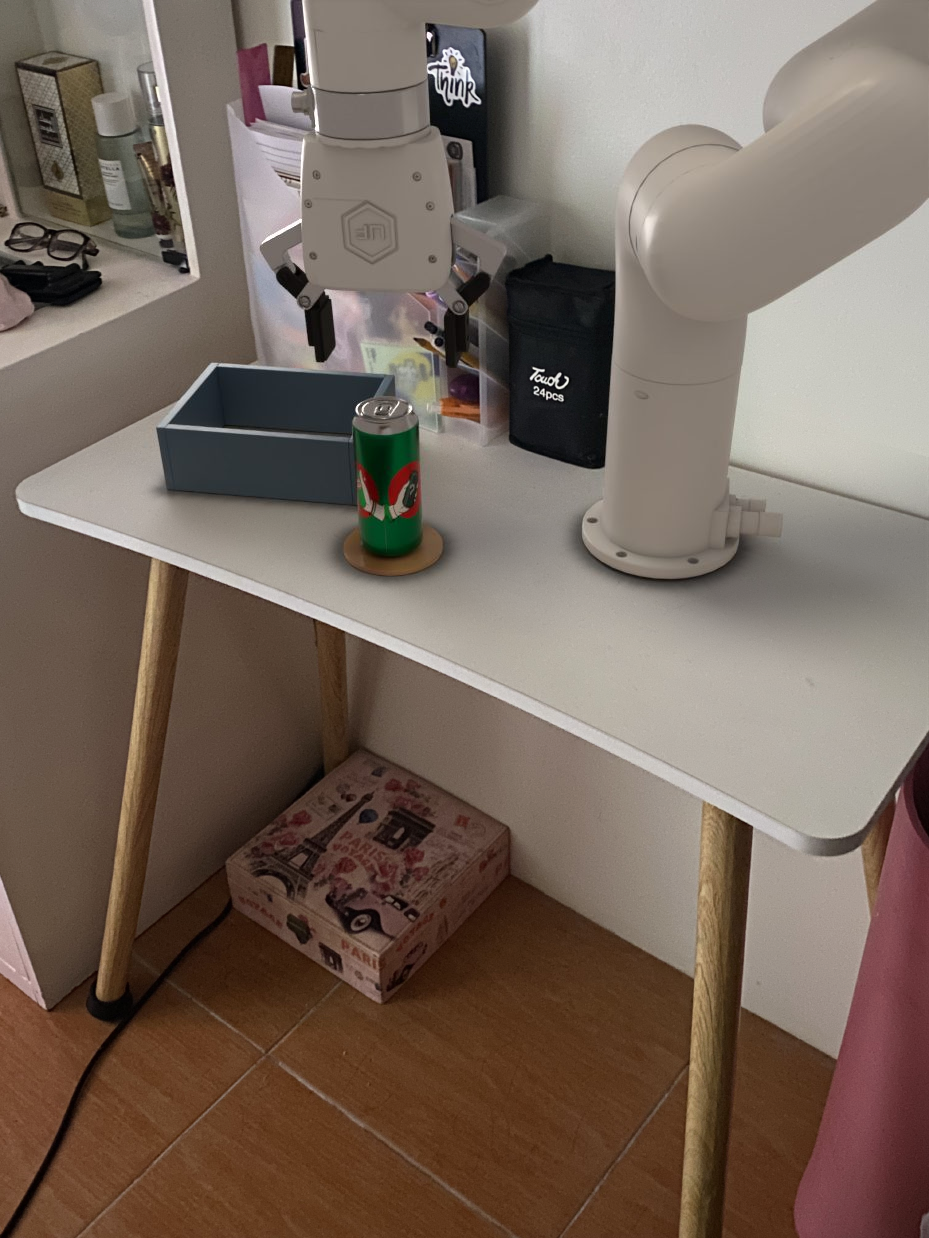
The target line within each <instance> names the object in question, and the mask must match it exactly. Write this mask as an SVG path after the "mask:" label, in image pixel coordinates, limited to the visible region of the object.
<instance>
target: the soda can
mask: <svg viewBox="0 0 929 1238" xmlns="http://www.w3.org/2000/svg"><path fill="white" fill-rule="evenodd" d="M414 408H415V407H414V405H413V404H412V402H410V401H409V400H408V399H405V398H403V397H399V396H396V397H393V396H381V397H374V398H370V399H367V400H364V401H363V402H361V403H360V404H359V405H358V406H357V407H356V415H355V416H354V418H353V420H352V434H351V437H352V436H353V450H354V464H355V478H356V492H357V505H356V507H357V518H358V520H357V521H358V528H359V534H360V543H361V545H362V546H363V547H364V548H365V549H366V550H367V551H368V552H370V553H371V554H373V555H375V556H378V557H383V558H397V557H402V556H405V555H408V554H410V553H412V552H413V551H414V550H415V549H416V548H418V546H419V545H420V544H421V542H422V540H423V524H424V523H423V499H422V497H423V496H422V473H421V472H422V471H421V442H420V420H419V416H418V415H417V414H416V412H415V411H414Z"/></svg>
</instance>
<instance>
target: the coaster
mask: <svg viewBox="0 0 929 1238" xmlns="http://www.w3.org/2000/svg"><path fill="white" fill-rule="evenodd" d="M342 548H343V555H344V558H345V560H346V561H347V562H348V563H349V564H350V565H351V566H352V567H353V568H356V569H357V570H359V571H362V572H364V573H367V574H370V575H376V576H386V577H392V576H393V577H394V576H405V575H411V574H415V573H417V572H420V571H422V570H425V569H427V568H428V567H431V566H432V565H434V564H435V563H436V562H437V561H438V560H439V558H440V557H441V556H442V554H443V550H444V541H443V538H442V536H441V534H440V533H439V532H438V531H437V530H436V529H434V528H433V527H432V526H430V525H428V524H425V523H423V540H422V542H421V544H420V545H419V546H418V548H416V549H415V550H414V551H413V552H412V553H410V554H408V555H405V556H402V557H397V558H383V557H378V556H375V555H373V554H371V553H370V552H368V551H367V550H366V549H365V548H364V547H363V546H362V545H361V543H360V534H359V527H358V528H356V529H354V530H353V531H352V532H350V533H349V534H348V536H346V538H345V540H344V543H343V547H342Z"/></svg>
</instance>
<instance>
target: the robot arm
mask: <svg viewBox="0 0 929 1238" xmlns="http://www.w3.org/2000/svg"><path fill="white" fill-rule="evenodd" d="M539 1H540V0H301V3H302V4H301V5H302V13H303V22H304V32H305V41H306V50H307V60H308V61H307V62H308V71H309V81H310V84H308V85H307V88H306V89H303V90H302V91H298V90H297V91H292V92H291V96H290V105H291V106H290V107H291V110H292V112H293V114H303V115H304V116H308V118H309V119H310V120H309V121H310V122H311V128H312V129H313V130H311V131H309V132H308V133H307V134H305V135H304V136H303V138H302V139H303V140H302V147H301V148H302V149H301V159H300V161H301V162H300V219H298V220H297V221H295V222H293V223H292V224H290V225H287V226H286V227H284V228H282V229H281V230H278V231H277V232H275V233H274V234H271V235H270V236H268V237H266V238H265V240H263V242H262V243H261V244H260V246H259V252H260V254H261V256H262V257H263V258H264V260H265V261H266V264H267V265H268V266H269V268H270V269H271V271H272V272H274V274H275V279H276V281H277V283H278V284H279V285H280V286H281V287H282V288H283V289H284V290H285V291H286V292H288V294H290V295H291V296H292V297H293V298H294V299H295V300H296V305H297V306H298V307H299V308H300V309H302V310H303V312H304V322H305V329H306V338H307V345H308V347H313V349H314V357H315V362H316V363H325V362H327V361H328V360H329V358H330V357H331V355H332V353H333V352H334V350H335V348H336V345H337V341H336V331H335V321H334V312H333V302H332V299H331V298H330V295H329V294H326V291H325V290H329V291H343V292H344V291H345V292H368V293H369V292H371V293H401V294H402V293H404V294H405V293H407V294H411V293H412V294H422V293H423V294H425V293H431V292H434V293H435V294H436V295H437V296H438V298H439V299H441V300H442V302H443V303H444V304H445V305H446V306H447V309H446V311H445V313H444V315H443V336H444V358H445V359H444V360H445V367H448V369H457V367H458V365H459V363H460V360H461V358H462V356H463V353H465V354H466V353H468V352H469V351H470V347H471V346H470V345H471V330H470V329H471V326H470V307H472V306H473V304H474V303H476V301H478V300H479V298H481V297H482V296H483V295H484V294H485V293H486V292H487V291H488V289H490V286H491V284H492V282H493V280H494V278H495V276H496V275H497V272H498V270H499V269H500V266H501V264H502V263H503V261H504V259H505V257H506V254H507V246H506V245H505V244H504V243H503V242H501V241H500V240H497V239H495V238H494V237H492V236H490V235H488V234H486V233H484V232H483V231H480V230H479V229H477V228H476V227H474V226H471V225H470V224H468V223H466V222H464V221H462V220H461V219H459V218H457V217H455V209H454V208H455V207H454V200H453V193H452V186H451V178H450V172H449V166H448V162H447V156H446V151H445V147H444V141H443V138H442V135H441V132H440V129H439V128H438V127H437V126H434V125H431V122H430V121H431V119H430V116H431V115H430V98H429V97H430V95H429V78H428V58H427V57H428V56H427V55H428V53H427V38H426V37H427V36H426V33H427V32H426V24H433V25H434V24H435V25H443V26H444V25H445V26H452V27H460V28H468V29H495V28H502V27H505V26H508V25H510V24H512V23H515V22H517V21H519V20H521V19H522V18H524V16H526V15H527V14H528V13H529V12H530V11H532V10H533V9H534V8H535V7H536V5H537V4H538V3H539ZM762 127H763V130H764V133H763V134H762V135H760V136H759V137H758V138H756V139H754V140H753V141H752V142H750V143H749V144H747V145H745V146H744V147H743V146H742V144H740V143H739V142H738V141H737V140H735V139H734V138H733V137H731V135H728V134H727V133H725V132H724V131H721V130H719V129H717V128H715V127H711V126H707V125H702V124H696V123H695V124H691V123H689V124H688V123H687V124H680V125H676V126H675V125H674V126H671V127H668V128H666V129H664V130H661V131H660V132H658V133H655V135H653V136H651V137H650V138H649V139H648V140H646V141H645V142H644V143H643V144H642V145H641V146H640V147H639V148H638V149H637V151H636V152H635V153H634V154H633V156H632V157H631V159H630V160H629V162H628V163H627V165H626V167H625V169H624V172H623V174H622V176H621V179H620V183H619V186H618V190H617V196H616V201H615V214H614V251H615V253H614V254H615V255H614V256H615V261H614V262H615V299H614V300H615V301H614V321H613V324H614V325H613V341H612V353H611V365H610V381H609V382H610V383H609V384H610V385H609V397H608V414H607V415H608V416H607V428H606V431H607V432H606V443H605V459H604V460H605V461H604V475H603V476H604V479H603V490H602V493H603V494H602V498H601V499H600V500H598V501H597V502H595V503H593V504H592V505H591V506H590V507H589V508H588V510H586V512H585V514H584V516H583V518H582V523H581V524H582V525H581V539H582V541H583V544H584V546H585V548H586V549H587V550H588V551H589V553H590V554H591V555H592V556H594V557H595V558H596V559H598V560H599V561H600V562H602V563H603V564H606V565H607V566H609V567H611V568H612V569H615V570H618V571H620V572H623V573H626V574H629V575H633V576H638V577H643V578H650V579H659V580H677V579H688V578H694V577H699V576H702V575H706V574H709V573H712V572H714V571H716V570H717V569H719V568H721V567H723V566H725V565H726V564H727V563H729V562H730V561H731V560H732V559H733V558H734V556H735V554H736V553H737V551H738V548H739V543H740V534H743V535H756V537H768V538H781V535H782V529H783V522H784V521H783V519H784V516H783V514H784V513H783V512H771V511H766V508H767V507H766V506H767V500H766V499H761V498H751V497H750V498H740V497H739V498H738V497H737V494H734V493H733V494H732V493H730V477H728V475H729V467H730V459H731V452H732V443H733V436H734V428H735V420H736V413H737V407H738V406H737V405H738V397H739V390H740V381H741V376H742V375H741V373H742V366H743V362H744V355H745V353H744V352H745V347H746V341H747V340H746V339H747V329H748V316H749V315H750V314H751V313H754V312H756V311H758V310H761V309H763V308H764V307H766V306H768V305H770V304H772V303H773V302H775V301H777V300H779V299H781V298H782V297H784V296H785V295H787V294H789V293H790V292H793V291H794V290H796V289H797V288H799V287H801V286H802V285H804V284H805V283H808V281H810V280H811V279H812V280H813V279H814V278H815V277H817V276H819V275H820V274H822V273H823V272H825V271H826V270H829V269H830V268H831V267H834V266H835V265H836V264H838V263H840V262H841V261H842V260H845V259H846V258H847V257H849V256H851V255H853V254H854V253H856V252H858V251H859V250H861V249H862V248H864V247H865V246H867V245H868V244H870V243H872V242H873V241H875V240H877V239H878V238H880V237H881V236H883V235H885V234H886V233H887V232H889V231H891V230H892V229H894V228H895V227H897V226H898V225H900V224H901V223H903V222H904V221H905V220H907V219H908V218H909V217H910V216H911V215H913V214H914V213H915V212H916V211H917V210H918V209H920V208H921V206H923V205H924V203H925V202H926V201H928V199H929V0H875V1H874V2H872V3H870V4H868V5H867V6H865V7H864V8H863V9H861V10H860V11H858V12H857V13H855V14H854V15H852V16H851V17H849V18H848V19H846V20H844V22H842V23H840V24H839V25H837V26H836V27H834V28H833V29H832V30H830V31H828V32H827V33H824V35H822V36H821V37H819V38H817V39H816V40H814V41H813V42H810V43H809V44H808V45H807V46H805V47H804V48H802V49H801V50H799V51H798V52H796V53H795V54H793V56H791V58H789V59H788V61H786V62H785V64H783V65H782V66H781V67H780V69H779V70H778V71H777V73H776V74H775V76H774V77H773V78H772V80H771V81H770V84H769V85H768V88H767V90H766V93H765V95H764V99H763V104H762ZM300 244H301V248H302V250H301V251H302V260H303V267H304V270H303V269H301V267H299V266H298V265H297V264H296V263H295V262H293V260H292V259H291V258H292V257H291V256H290V254H289V250H290V249H292V248H294V247H296V246H298V245H300ZM458 247H459V248H460V249H463V250H465V252H468V253H470V254H472V255H474V256H475V257H477V258H478V260H480V265H479V267H478V269H477V270H476V271H475V272H474V273H473V274H472V275H471V276H470V277H469V278H468V279H467V280H466V279H465V278H464V276H463V275H462V274H461V273H460V272H459V271H458V269H457V268H455V265H456V262H457V255H458V249H457V248H458Z"/></svg>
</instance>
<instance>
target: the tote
mask: <svg viewBox="0 0 929 1238" xmlns="http://www.w3.org/2000/svg"><path fill="white" fill-rule="evenodd" d="M395 376H396V375H394V374H386V373H372V372H360V371H359V372H358V371H357V372H356V371H345V370H344V371H341V370H328V369H315V368H314V369H311V368H300V367H299V368H298V367H297V368H296V367H282V366H267V365H266V366H265V365H252V364H240V363H239V364H238V363H236V364H235V363H225V362H224V363H223V362H210V364H209V365H208V366H207V367H206V368H205V370H204V371H203V372H202V373H201V374H200V375H199V377H197V379H196V380H195V381H194V382H193V383H192V385H191V386H190V387H189V388H188V389H187V391H185V393H184V394H183V395H182V396H181V398H180V399H179V400H178V401H177V402H176V403H175V405H174V406H173V407H172V408H171V409H170V411H169V412H168V413H167V414H166V415H165V416H164V418H163V419H162V420H161V421H160V422H159V423H158V424H157V425H156V427H155V429H156V430H155V431H156V436H157V441H158V447H159V453H160V458H161V464H162V469H163V476H164V482H165V487H166V490H171V491H172V490H173V491H182V492H195V493H204V494H205V493H207V494H219V495H231V496H242V497H251V498H252V497H253V498H265V499H278V500H290V501H300V502H313V503H324V504H325V503H326V504H337V505H347V506H349V505H350V506H357V492H356V478H355V464H354V450H353V436H352V420H353V418H354V416H355V415H356V407H357V406H358V405H359V404H360V403H361V402H363V401H364V400H367V399H370V398H374V397H381V396H393V397H397V396H396V395H397V394H396V377H395ZM225 425H226V426H237V427H251V428H265V429H278V430H289V431H303V432H304V431H305V432H317V433H328V434H329V433H330V434H342V435H345V434H346V435H351V437H345V436H344V437H343V436H331V435H319V434H318V435H317V434H305V433H290V432H288V433H287V432H280V431H279V432H278V431H266V430H253V429H252V430H251V429H238V428H226V427H225V428H224V426H225Z"/></svg>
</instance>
